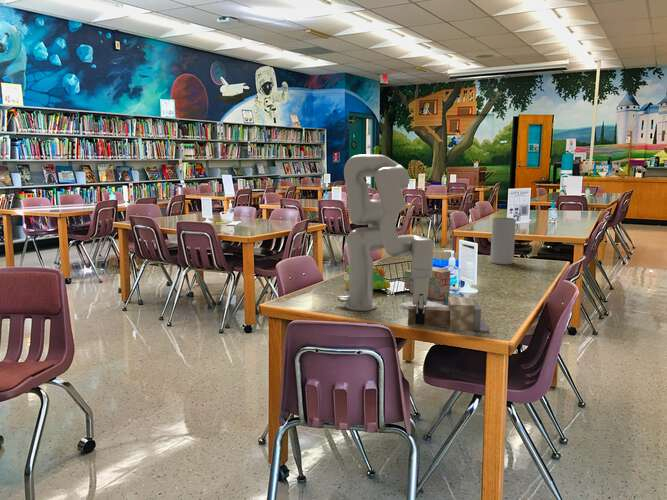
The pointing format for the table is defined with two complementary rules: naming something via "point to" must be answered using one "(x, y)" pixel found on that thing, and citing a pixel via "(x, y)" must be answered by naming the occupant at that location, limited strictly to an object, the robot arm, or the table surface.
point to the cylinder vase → (503, 240)
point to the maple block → (461, 313)
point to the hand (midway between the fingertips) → (419, 321)
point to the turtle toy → (375, 279)
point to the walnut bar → (431, 316)
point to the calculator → (430, 304)
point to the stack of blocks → (433, 283)
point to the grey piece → (478, 319)
